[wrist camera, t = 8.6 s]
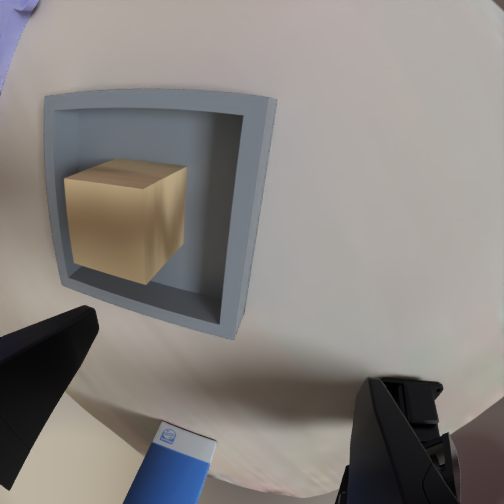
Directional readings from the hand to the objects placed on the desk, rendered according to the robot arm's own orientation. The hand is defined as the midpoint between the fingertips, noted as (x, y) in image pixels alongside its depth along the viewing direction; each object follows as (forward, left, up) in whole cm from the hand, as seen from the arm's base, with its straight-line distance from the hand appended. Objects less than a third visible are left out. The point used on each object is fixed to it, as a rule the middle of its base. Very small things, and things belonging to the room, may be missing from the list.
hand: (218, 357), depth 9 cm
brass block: (0, +8, -10) cm, 13 cm away
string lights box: (-34, +6, -11) cm, 36 cm away
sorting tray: (0, +8, -11) cm, 13 cm away
